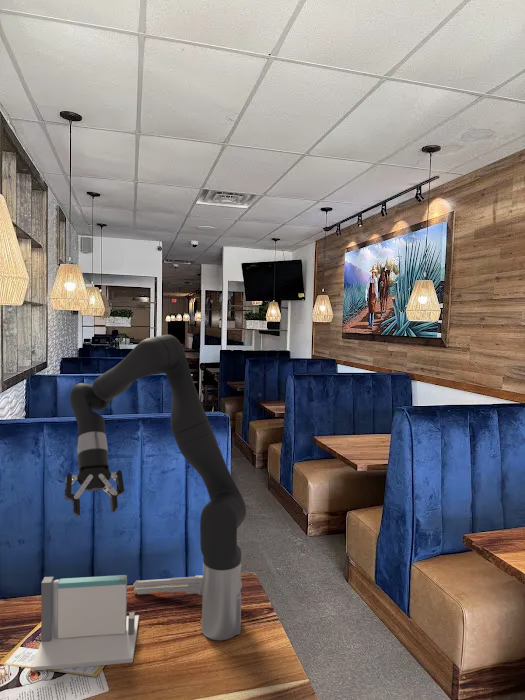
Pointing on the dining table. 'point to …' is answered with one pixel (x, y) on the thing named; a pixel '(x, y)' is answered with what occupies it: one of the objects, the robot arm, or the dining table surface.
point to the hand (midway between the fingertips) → (96, 513)
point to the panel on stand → (80, 641)
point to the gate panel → (89, 606)
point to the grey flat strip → (191, 588)
